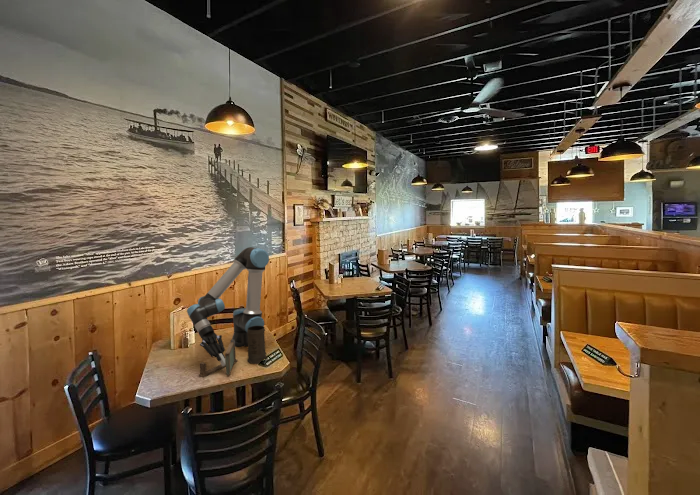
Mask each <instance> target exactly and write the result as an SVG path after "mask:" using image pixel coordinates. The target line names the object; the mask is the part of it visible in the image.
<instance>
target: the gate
mask: <svg viewBox="0 0 700 495" xmlns="http://www.w3.org/2000/svg"><path fill="white" fill-rule="evenodd" d="M235 355H236V350H235V351H234V342H231V341H230V342H229V344H228V347H227V348H226V350H225V353H224V356H225V363H226V367H225V375H231V371H232V368H233V365H234V364H235V363H234V362H235Z"/></svg>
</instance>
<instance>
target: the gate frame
mask: <svg viewBox="0 0 700 495" xmlns="http://www.w3.org/2000/svg"><path fill="white" fill-rule="evenodd" d="M230 342H234V351H235V352H236V346H235V340H232V339H230ZM237 362H239V360H238V359H237V358H236V354H235V362H234V363H233V364H235V363H237ZM222 369H226V365H225V366H222V365H221V363H220V364H219V365H216V366H214V367H213V368H212V367H211V368H210V369H207V364H206V362H203V361H201V362H199V373H198V377H199V378H205V377H207V376H209V375H212V374H214V373H216V372H219V371H221V370H222Z"/></svg>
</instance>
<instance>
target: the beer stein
mask: <svg viewBox="0 0 700 495" xmlns="http://www.w3.org/2000/svg"><path fill="white" fill-rule="evenodd" d="M265 331H266V329H265V326H264V327H263V326H252V327H249V328H248V330H247V333H248V346H247V362H248V363H249V364H253V365H255V364H256V365H257V364H261V363H260V362H261V361H262V360H263V359H265V358H266V359H267V352H266V341H265Z"/></svg>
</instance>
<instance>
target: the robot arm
mask: <svg viewBox="0 0 700 495" xmlns="http://www.w3.org/2000/svg"><path fill="white" fill-rule="evenodd" d="M269 262H270V256H269V254H268V252H267V251H266V250H265V249H263V248H259V247H253V246H252V247H250V246H249V247H246V248H244V249H243V250H241V252H240V253H239V254H238V255H237V256H236V257H235V258H234V259H233V263H232V264H231V265H230V266H229V267H228V268H227V270H226V271H225V272H224V273H223V275H222V276H221V277H219V279H218V280H217V281H216V283H214V285H213V286H212V287H211V288H210V289H209V290H208V292H207V293H206V294H205V295H203V296H200V298H198V300H197V303H194V304H192V305H190V306H188V308H187V310H186V313H187V315H188V318H189V319H190V321H191V323H192V324H193V326H194V328H195V330H196V331H197V333H198V335H199V337H200V338H201V342H200V343H199V346H200V347H202V348H203V349H204V350H205V351H206V353H208V355H210V357H212V358H213V357H214V358H216V359H217V361H218V362H220V364H221V365H222V366H225V365H226V363H225V353H224V352H226V349H225V345H224V341H223V340H222V337H223V336H222V335H221V334H220V335H217V333H215V330H214V328H213V326H212V324H211V323H210V321H209V319H208V318H209V317H212V316H213V315H214V316H215V315H217V314H218V313H220V312H223V311H224V310H225V308H226V306H225V303H224V300H223V299H221V298H220V297H221V296H222V295H223V294H224V293H225V291H226V290H228V288H229V287H230V286H231V285H232V283H233V282H234V281H235V280H236V279H237V278H238V276H240V274H241V273H242V272H243V271H244V270H247V273H248V274H247V288H246V289H247V290H246V301H245V304H246V305H245V307H244V308H238V309H235V310H233V313H232V320H233V321H232V323H233V334H232V336H231V337H232V338H231V340H235V348H236V347H237V348H238V347H239V348H240V347H241V348H242V347H244V348H245V347H248V333H247V330H248V328H249V327H252V326H263V327H264V328H265V320H264V318H263V311H262V310H261V298H262V285H263V284H262V283H263V274H264V273H263V272H265V271H266V266H267V265H268V264H269Z"/></svg>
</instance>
